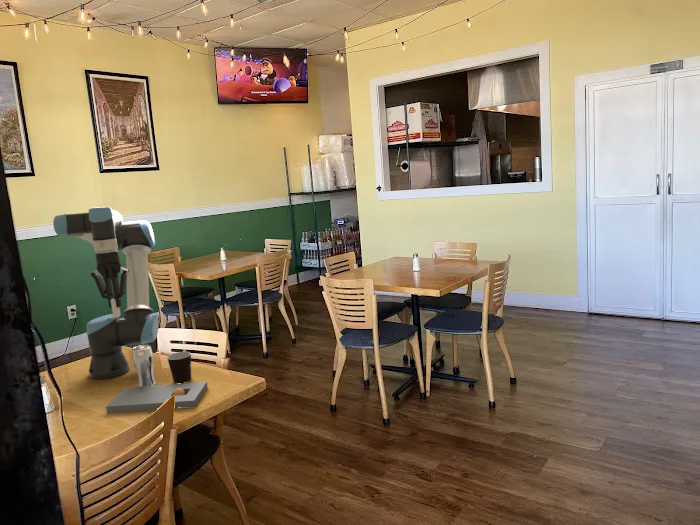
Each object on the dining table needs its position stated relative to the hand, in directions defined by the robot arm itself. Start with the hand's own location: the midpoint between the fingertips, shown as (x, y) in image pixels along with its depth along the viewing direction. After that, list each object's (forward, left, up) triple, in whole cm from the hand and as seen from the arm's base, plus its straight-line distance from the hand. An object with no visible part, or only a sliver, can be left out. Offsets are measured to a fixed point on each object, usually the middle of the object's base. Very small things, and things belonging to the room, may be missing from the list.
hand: (117, 316), depth 195 cm
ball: (+8, +21, -27) cm, 36 cm away
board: (+8, +14, -29) cm, 33 cm away
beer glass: (-7, +4, -30) cm, 31 cm away
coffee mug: (-11, +17, -30) cm, 36 cm away
